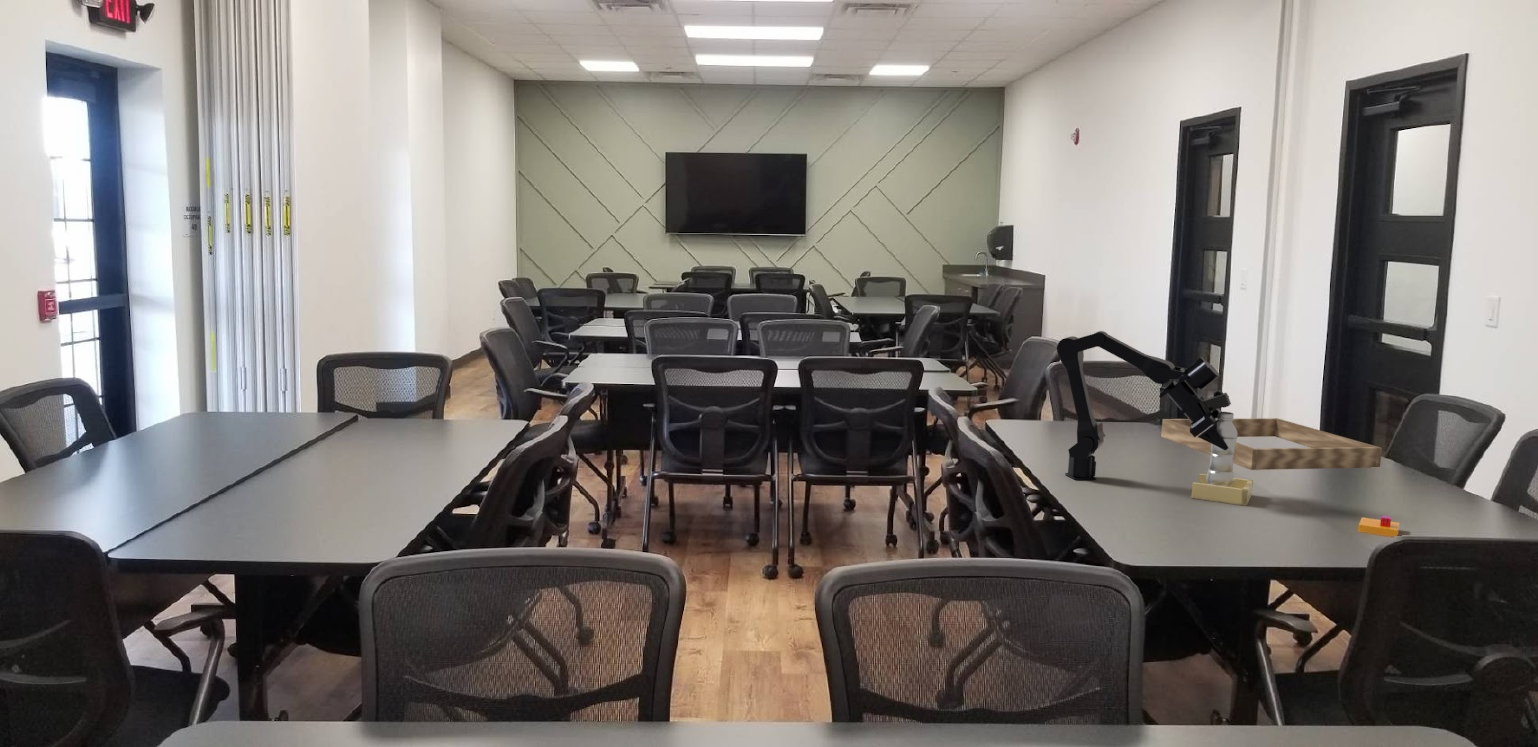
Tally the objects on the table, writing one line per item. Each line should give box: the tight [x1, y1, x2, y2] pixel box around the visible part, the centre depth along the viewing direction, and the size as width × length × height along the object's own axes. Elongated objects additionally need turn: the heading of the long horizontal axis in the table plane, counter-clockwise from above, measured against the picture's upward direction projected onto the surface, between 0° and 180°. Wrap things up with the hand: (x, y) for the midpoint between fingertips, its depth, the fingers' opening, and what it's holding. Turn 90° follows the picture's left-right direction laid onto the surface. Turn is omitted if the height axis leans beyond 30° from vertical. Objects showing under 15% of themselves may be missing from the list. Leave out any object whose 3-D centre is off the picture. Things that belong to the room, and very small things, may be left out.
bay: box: [1190, 473, 1254, 507], centre depth 286 cm, size 13×13×4 cm
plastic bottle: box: [1206, 411, 1238, 487], centre depth 285 cm, size 6×7×20 cm
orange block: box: [1357, 515, 1401, 538], centre depth 257 cm, size 8×8×4 cm
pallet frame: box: [1160, 417, 1383, 471], centre depth 348 cm, size 43×49×6 cm
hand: (1228, 447), depth 285 cm, fingers closed on plastic bottle, 6 cm apart
